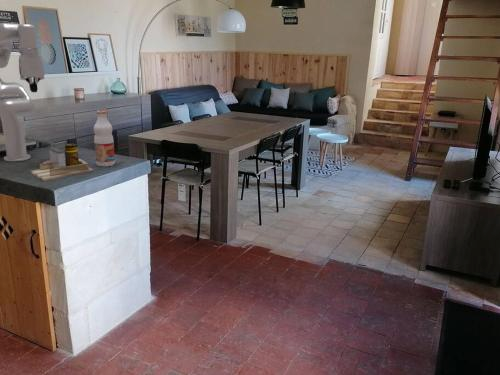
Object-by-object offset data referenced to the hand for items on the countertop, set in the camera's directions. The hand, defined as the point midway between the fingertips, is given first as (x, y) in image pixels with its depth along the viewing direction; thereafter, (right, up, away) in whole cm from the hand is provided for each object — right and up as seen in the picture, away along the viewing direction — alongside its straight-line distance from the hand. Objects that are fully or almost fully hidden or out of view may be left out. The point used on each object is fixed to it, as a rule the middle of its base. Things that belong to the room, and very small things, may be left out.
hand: (34, 92), depth 208 cm
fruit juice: (+28, -34, +19) cm, 48 cm away
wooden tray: (+13, -39, +2) cm, 41 cm away
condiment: (+16, -37, +5) cm, 40 cm away
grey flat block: (+12, -38, +1) cm, 40 cm away
